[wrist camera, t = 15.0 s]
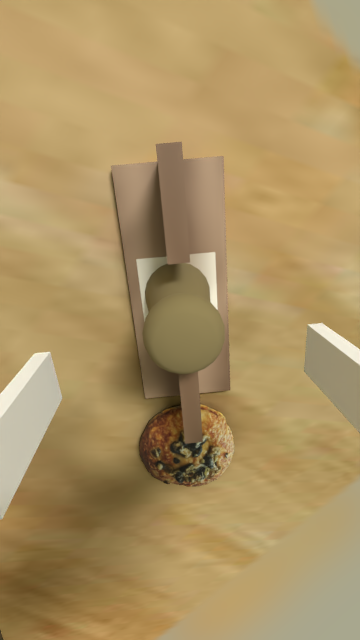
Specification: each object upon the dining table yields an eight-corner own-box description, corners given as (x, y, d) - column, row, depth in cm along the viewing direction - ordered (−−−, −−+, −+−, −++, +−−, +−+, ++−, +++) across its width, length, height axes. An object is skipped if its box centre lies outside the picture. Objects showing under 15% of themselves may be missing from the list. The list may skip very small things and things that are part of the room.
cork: (188, 248, 26) (204, 274, 16) (221, 304, 28) (254, 359, 18) (131, 284, 27) (111, 330, 17) (167, 336, 29) (169, 405, 19)
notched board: (145, 394, 32) (140, 448, 25) (112, 167, 25) (91, 149, 17) (228, 385, 33) (247, 437, 25) (221, 157, 25) (245, 136, 18)
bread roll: (118, 446, 35) (118, 481, 30) (182, 376, 34) (192, 400, 29) (188, 488, 38) (197, 525, 33) (248, 426, 37) (266, 454, 32)
